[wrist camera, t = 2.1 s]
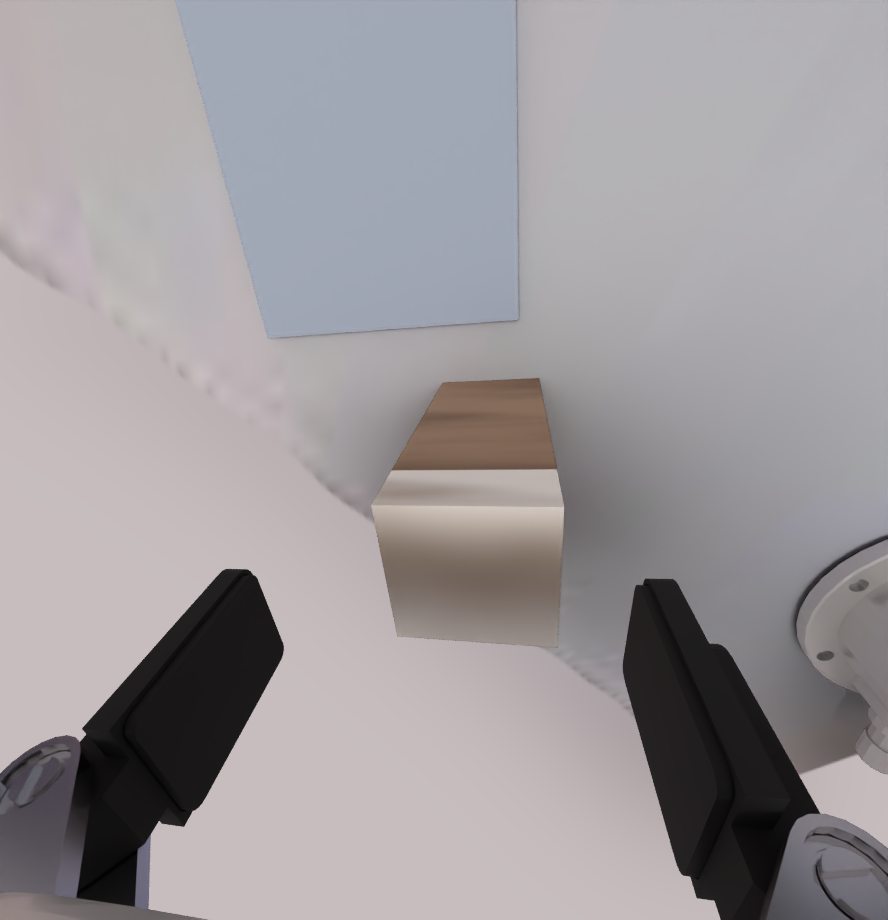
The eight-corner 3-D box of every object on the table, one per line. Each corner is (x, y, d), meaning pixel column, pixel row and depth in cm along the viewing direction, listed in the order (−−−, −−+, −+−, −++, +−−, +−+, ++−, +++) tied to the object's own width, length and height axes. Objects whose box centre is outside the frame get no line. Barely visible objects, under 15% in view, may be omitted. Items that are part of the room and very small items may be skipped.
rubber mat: (518, 318, 19) (518, 319, 19) (273, 336, 22) (267, 338, 21) (511, -478, 11) (511, -517, 10) (103, -302, 13) (85, -326, 12)
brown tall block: (537, 465, 23) (557, 647, 12) (450, 466, 24) (397, 636, 13) (539, 378, 20) (564, 507, 10) (442, 382, 21) (371, 505, 11)
